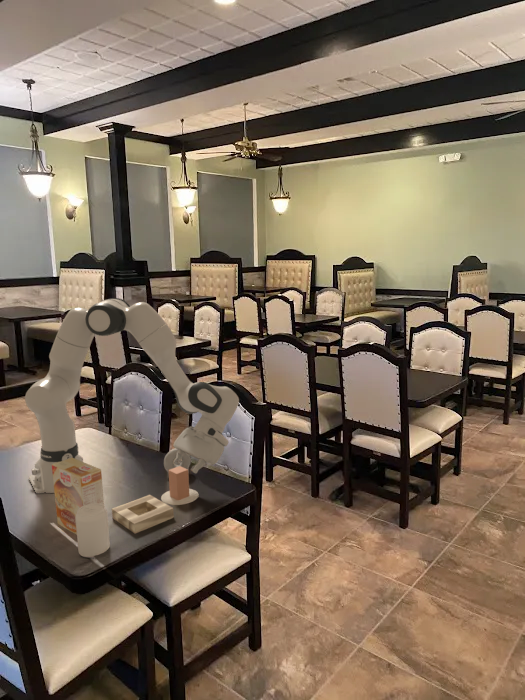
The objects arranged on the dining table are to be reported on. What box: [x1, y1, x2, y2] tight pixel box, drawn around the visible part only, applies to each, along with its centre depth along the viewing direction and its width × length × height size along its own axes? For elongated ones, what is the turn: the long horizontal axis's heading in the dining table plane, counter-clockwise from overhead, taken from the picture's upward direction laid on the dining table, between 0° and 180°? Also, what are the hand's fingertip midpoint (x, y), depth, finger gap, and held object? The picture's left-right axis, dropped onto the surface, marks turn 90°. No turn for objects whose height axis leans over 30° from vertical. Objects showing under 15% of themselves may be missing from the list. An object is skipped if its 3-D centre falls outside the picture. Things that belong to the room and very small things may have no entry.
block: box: [168, 466, 190, 500], centre depth 172 cm, size 4×4×9 cm
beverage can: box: [75, 503, 111, 558], centre depth 143 cm, size 8×8×12 cm
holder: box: [111, 494, 175, 534], centre depth 159 cm, size 13×13×4 cm
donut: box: [163, 447, 192, 473], centre depth 192 cm, size 10×4×10 cm, turn 117°
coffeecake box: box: [52, 458, 105, 536], centre depth 154 cm, size 15×7×20 cm, turn 51°
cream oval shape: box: [160, 488, 200, 506], centre depth 173 cm, size 12×12×1 cm
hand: (184, 468), depth 173 cm, fingers open, 8 cm apart
